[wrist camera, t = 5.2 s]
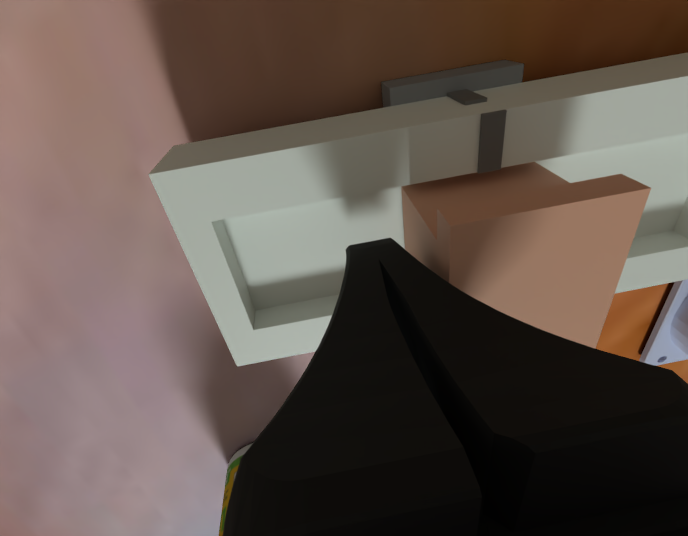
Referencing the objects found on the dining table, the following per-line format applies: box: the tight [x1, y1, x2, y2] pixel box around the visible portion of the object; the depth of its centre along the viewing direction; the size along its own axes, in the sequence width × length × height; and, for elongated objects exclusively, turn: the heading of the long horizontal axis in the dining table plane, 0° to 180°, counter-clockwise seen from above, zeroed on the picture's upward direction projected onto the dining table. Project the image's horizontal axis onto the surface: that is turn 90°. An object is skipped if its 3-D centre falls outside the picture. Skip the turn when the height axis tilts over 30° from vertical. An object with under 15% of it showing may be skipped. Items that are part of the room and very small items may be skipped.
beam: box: [148, 53, 688, 367], centre depth 13 cm, size 17×8×4 cm, turn 98°
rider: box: [401, 162, 651, 348], centre depth 10 cm, size 4×5×4 cm
